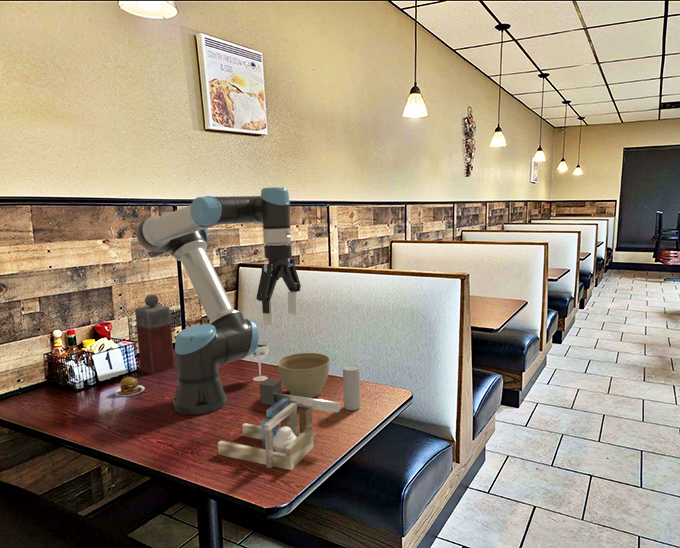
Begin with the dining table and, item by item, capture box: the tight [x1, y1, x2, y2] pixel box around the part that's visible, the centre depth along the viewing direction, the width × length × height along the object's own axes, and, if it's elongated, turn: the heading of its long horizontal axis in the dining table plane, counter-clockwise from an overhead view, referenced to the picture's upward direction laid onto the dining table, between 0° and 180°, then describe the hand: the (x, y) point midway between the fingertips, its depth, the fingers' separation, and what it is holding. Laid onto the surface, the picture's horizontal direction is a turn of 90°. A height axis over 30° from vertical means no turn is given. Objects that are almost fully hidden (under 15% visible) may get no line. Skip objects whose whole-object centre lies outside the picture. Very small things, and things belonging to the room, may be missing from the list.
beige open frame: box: [217, 403, 315, 471], centre depth 116 cm, size 20×13×10 cm, turn 66°
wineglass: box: [249, 341, 270, 382], centre depth 165 cm, size 7×7×12 cm
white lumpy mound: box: [273, 426, 297, 453], centre depth 114 cm, size 6×6×7 cm
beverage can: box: [342, 364, 362, 412], centre depth 139 cm, size 5×5×12 cm
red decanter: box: [134, 294, 175, 375], centre depth 179 cm, size 9×11×28 cm
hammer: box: [259, 378, 342, 451], centre depth 117 cm, size 21×14×13 cm, turn 66°
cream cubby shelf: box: [279, 405, 317, 438], centre depth 123 cm, size 9×4×8 cm, turn 66°
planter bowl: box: [277, 352, 331, 399], centre depth 151 cm, size 16×16×11 cm
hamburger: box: [114, 376, 145, 397], centre depth 158 cm, size 12×12×6 cm
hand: (281, 319), depth 137 cm, fingers open, 13 cm apart
